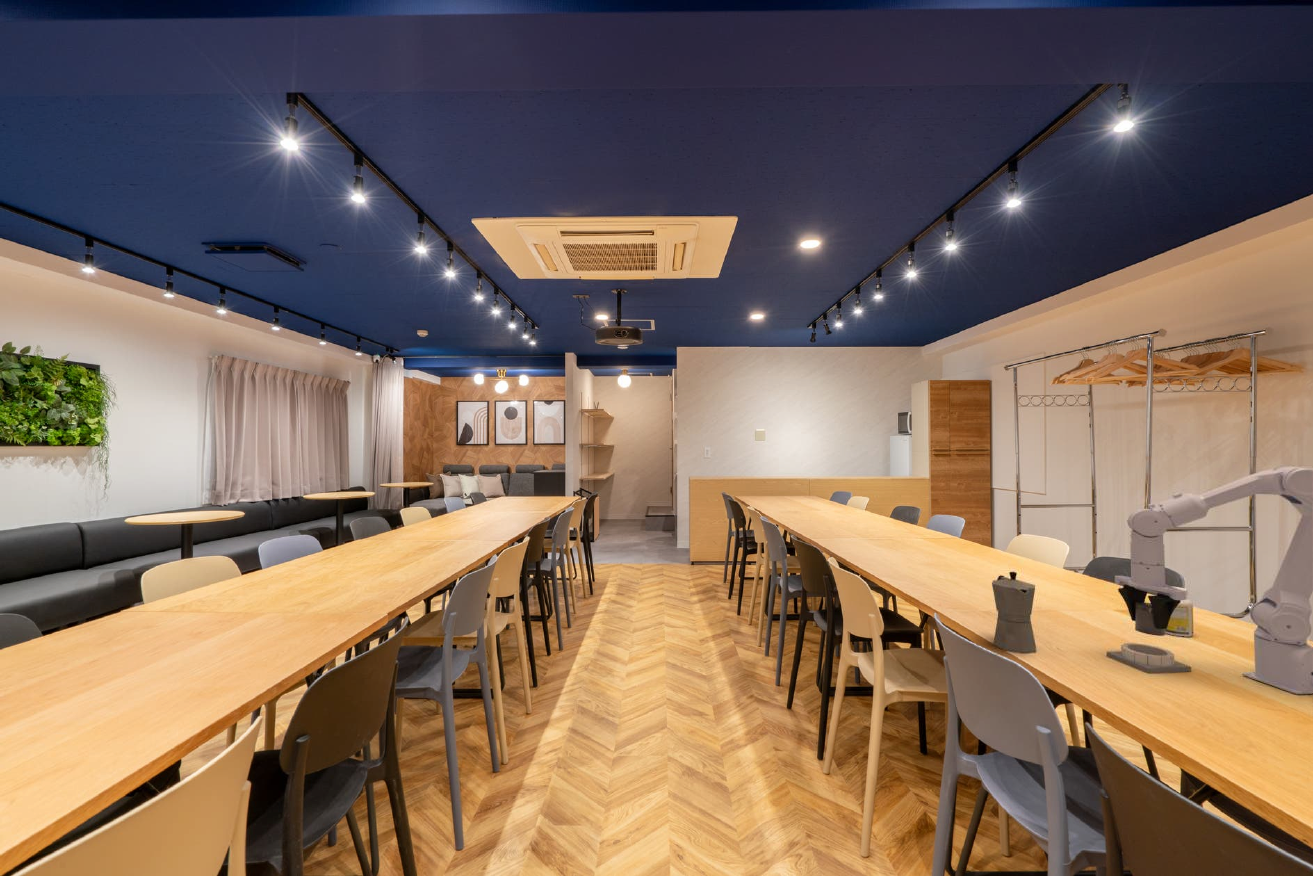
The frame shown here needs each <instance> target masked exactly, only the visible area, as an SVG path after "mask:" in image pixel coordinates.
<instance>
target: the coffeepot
mask: <svg viewBox="0 0 1313 876" xmlns="http://www.w3.org/2000/svg"><path fill="white" fill-rule="evenodd" d="M1008 573H1009V577H1006V576H1004V575H998V576H997V579H995V580H992V582H991V586H992V590H993V591H992V592H993V597H994V602H995V603H994V604H995V607H996V608H995V609H996V611H997V619H996V627H995V632H994V638H993V645H994V646H995V647H996V648H999V649H1001V650H1003V651H1008V652H1013V653H1017V652H1020V654H1032V653H1031V652H1033V653H1036V651H1037V645H1036V639H1035V635H1034V629H1033V625H1032V621H1031V615H1032V612H1033V605H1034V597H1035V591H1036V585H1035V584H1033V583H1030V582H1026V581H1023V580H1019V579H1017V575H1018V574H1017V572H1016V571H1008Z"/></svg>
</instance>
